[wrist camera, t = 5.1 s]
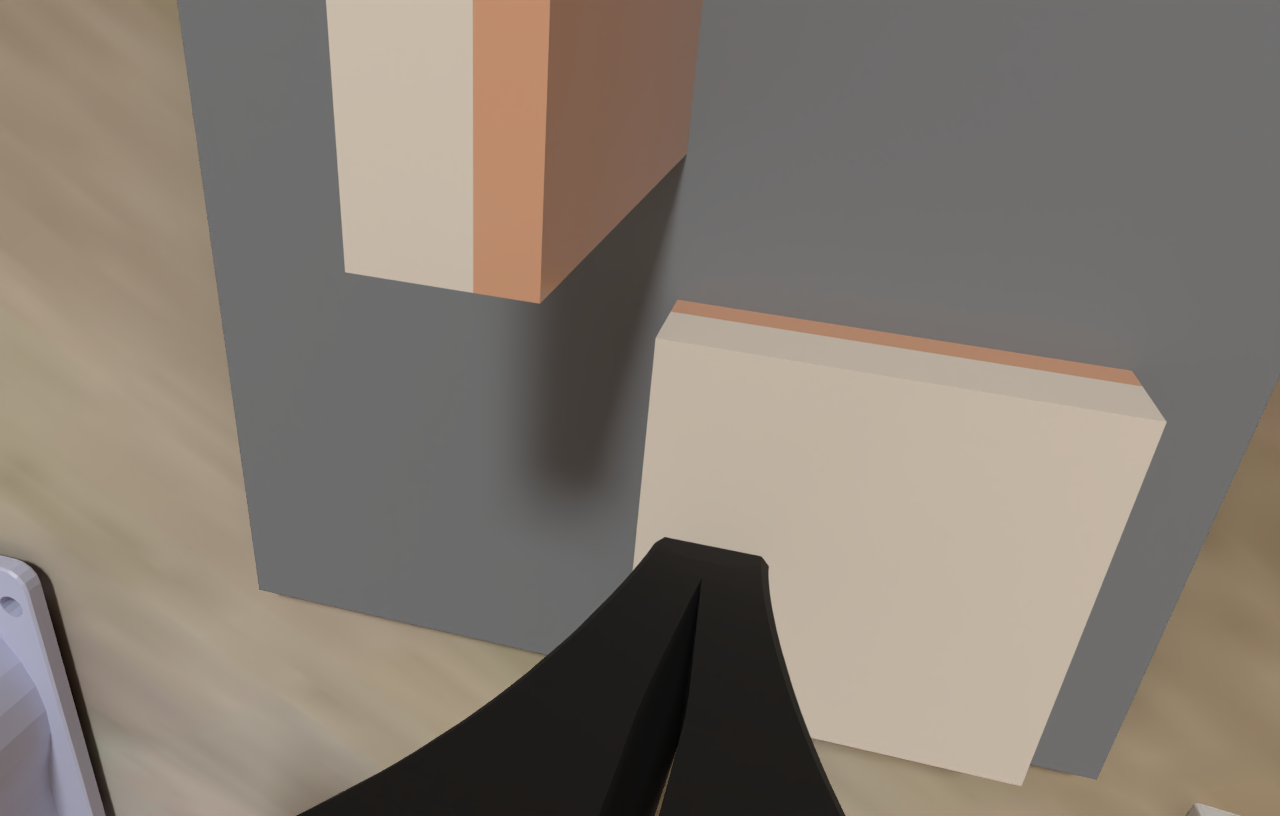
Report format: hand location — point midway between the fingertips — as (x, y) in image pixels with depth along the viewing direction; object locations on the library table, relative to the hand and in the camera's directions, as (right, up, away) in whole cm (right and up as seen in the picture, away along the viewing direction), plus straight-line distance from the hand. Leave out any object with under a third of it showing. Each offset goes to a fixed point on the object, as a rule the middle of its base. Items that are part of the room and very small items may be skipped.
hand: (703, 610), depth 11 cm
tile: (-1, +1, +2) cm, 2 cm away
